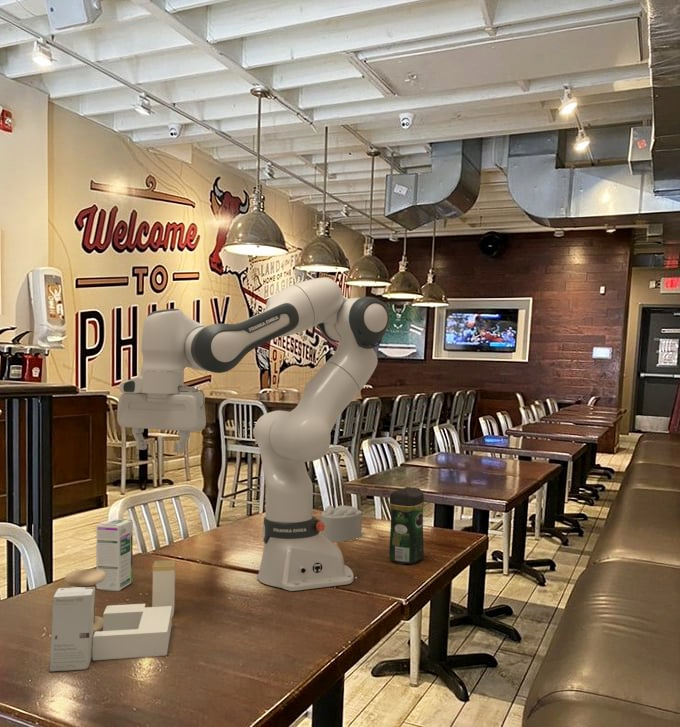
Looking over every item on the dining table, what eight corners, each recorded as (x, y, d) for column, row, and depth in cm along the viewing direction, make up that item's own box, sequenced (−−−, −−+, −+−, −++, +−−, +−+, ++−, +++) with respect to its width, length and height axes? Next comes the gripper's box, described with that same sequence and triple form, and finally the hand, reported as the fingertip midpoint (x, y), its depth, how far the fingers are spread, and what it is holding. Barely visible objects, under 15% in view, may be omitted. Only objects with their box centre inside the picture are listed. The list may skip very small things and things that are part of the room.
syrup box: (119, 591, 139) (120, 525, 139) (94, 589, 140) (96, 523, 140) (132, 583, 145) (134, 519, 145) (109, 581, 146) (110, 517, 146)
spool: (106, 619, 124) (107, 568, 124) (100, 634, 117) (101, 580, 117) (68, 622, 122) (69, 569, 122) (59, 637, 115) (60, 581, 116)
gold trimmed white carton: (174, 609, 130) (175, 560, 130) (173, 617, 126) (174, 566, 126) (153, 610, 129) (154, 560, 129) (151, 618, 125) (152, 567, 125)
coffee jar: (400, 552, 172) (401, 483, 172) (427, 557, 168) (428, 487, 168) (383, 561, 164) (385, 489, 164) (412, 567, 160) (413, 492, 160)
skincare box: (49, 673, 102) (50, 597, 102) (54, 660, 106) (56, 587, 107) (89, 669, 104) (91, 594, 104) (94, 657, 108) (95, 585, 108)
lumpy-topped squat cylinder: (365, 535, 190) (366, 506, 190) (341, 545, 179) (342, 514, 179) (336, 530, 195) (337, 501, 196) (311, 539, 185) (312, 509, 185)
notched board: (172, 623, 123) (172, 602, 123) (166, 655, 109) (167, 631, 109) (106, 626, 120) (106, 605, 120) (92, 660, 107) (93, 636, 107)
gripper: (212, 386, 134) (210, 452, 134) (132, 383, 141) (131, 446, 141) (195, 387, 128) (193, 456, 128) (113, 383, 135) (111, 449, 135)
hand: (160, 450), depth 134 cm, fingers open, 8 cm apart
